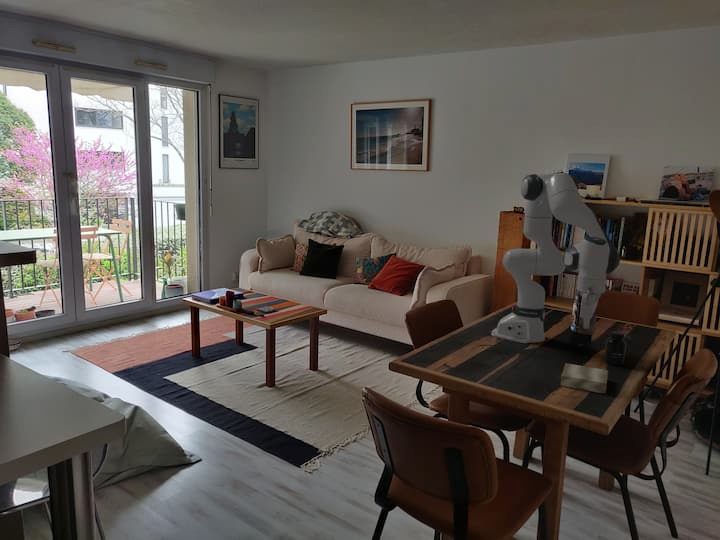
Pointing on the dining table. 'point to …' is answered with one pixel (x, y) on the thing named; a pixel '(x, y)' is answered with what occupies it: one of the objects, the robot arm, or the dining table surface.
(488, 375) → the dining table surface
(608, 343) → the supplement bottle
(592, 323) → the walnut block
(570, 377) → the ash platform
